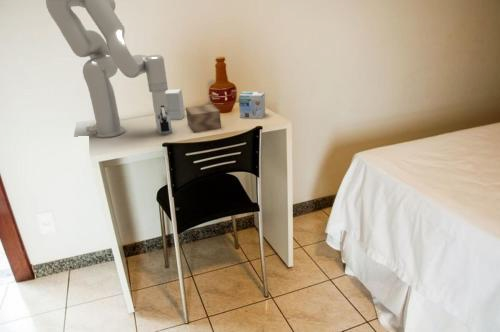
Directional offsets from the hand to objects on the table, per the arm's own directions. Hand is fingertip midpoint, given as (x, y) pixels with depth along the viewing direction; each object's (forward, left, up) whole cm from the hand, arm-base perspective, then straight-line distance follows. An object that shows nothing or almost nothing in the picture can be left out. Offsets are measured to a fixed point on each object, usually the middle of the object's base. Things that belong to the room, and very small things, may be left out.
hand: (164, 128), depth 169 cm
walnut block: (+17, -1, -2) cm, 17 cm away
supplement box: (+8, +19, -2) cm, 21 cm away
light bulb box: (+41, +3, -2) cm, 41 cm away
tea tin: (0, 0, -2) cm, 2 cm away
